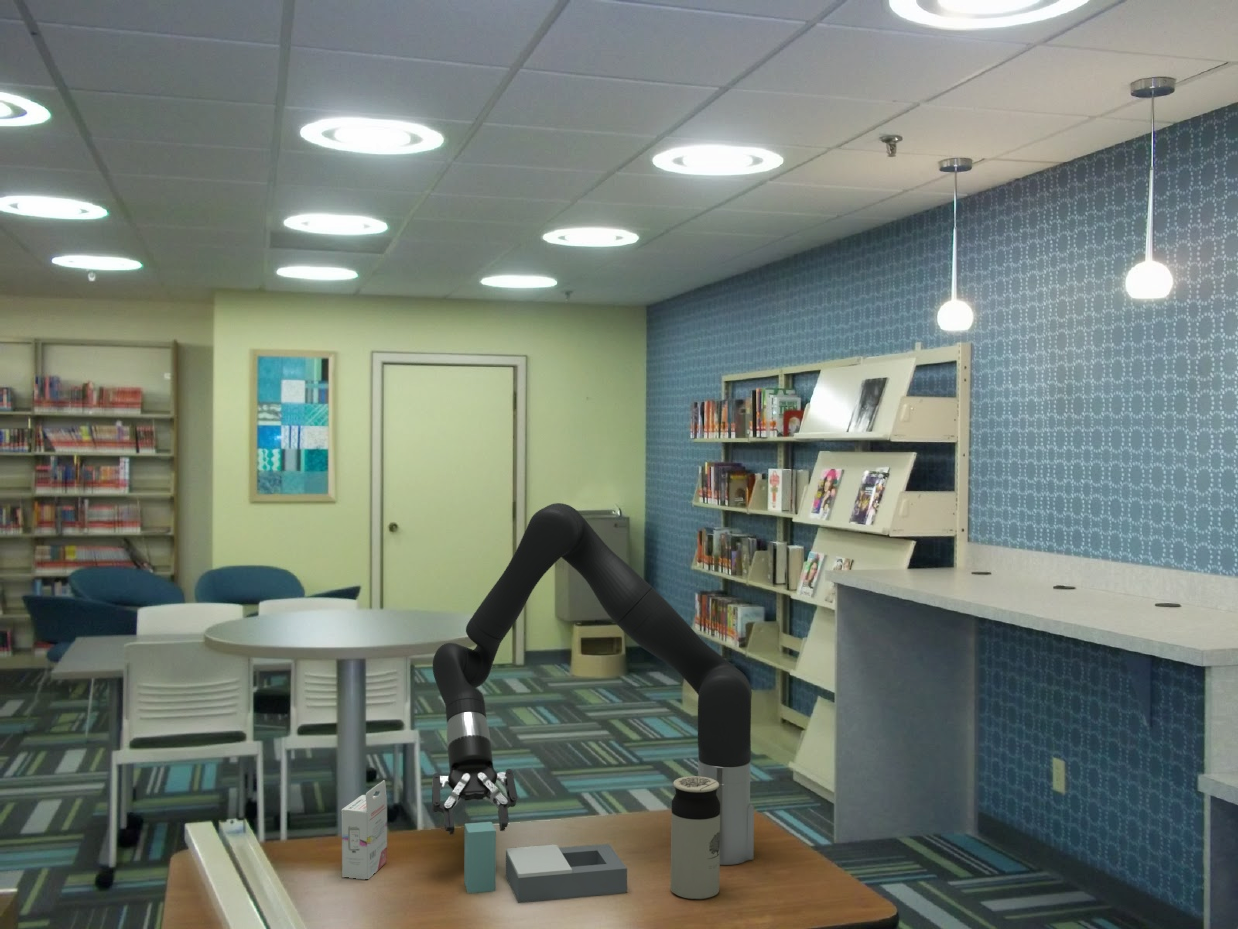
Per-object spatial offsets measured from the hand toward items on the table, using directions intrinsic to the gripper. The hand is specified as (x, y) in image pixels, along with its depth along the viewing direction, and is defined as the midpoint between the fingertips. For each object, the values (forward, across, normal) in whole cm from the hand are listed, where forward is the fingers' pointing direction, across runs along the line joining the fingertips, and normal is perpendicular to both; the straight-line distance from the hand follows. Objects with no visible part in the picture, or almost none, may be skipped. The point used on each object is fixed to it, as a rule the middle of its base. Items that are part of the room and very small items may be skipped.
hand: (477, 830), depth 201 cm
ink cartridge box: (0, -18, +13) cm, 22 cm away
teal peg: (+8, 0, +4) cm, 9 cm away
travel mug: (+15, +34, -2) cm, 37 cm away
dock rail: (+9, +14, +3) cm, 17 cm away
